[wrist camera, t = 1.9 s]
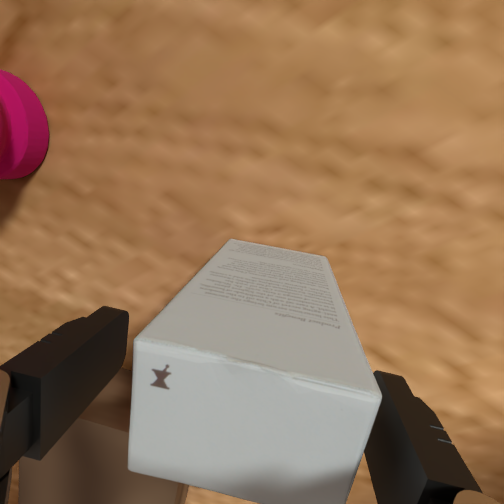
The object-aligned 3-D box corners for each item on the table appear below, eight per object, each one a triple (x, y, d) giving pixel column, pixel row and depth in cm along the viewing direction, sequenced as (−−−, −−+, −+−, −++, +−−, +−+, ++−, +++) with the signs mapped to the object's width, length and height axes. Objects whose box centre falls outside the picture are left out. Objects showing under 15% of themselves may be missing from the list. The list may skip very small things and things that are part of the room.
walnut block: (209, 389, 22) (184, 449, 17) (187, 494, 25) (160, 572, 20) (78, 353, 23) (20, 400, 18) (70, 458, 25) (18, 524, 21)
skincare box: (220, 301, 20) (117, 473, 8) (230, 236, 19) (125, 333, 7) (315, 320, 19) (342, 533, 8) (330, 255, 18) (388, 392, 7)
